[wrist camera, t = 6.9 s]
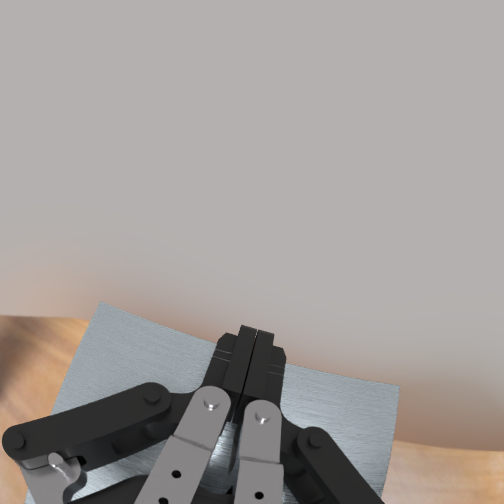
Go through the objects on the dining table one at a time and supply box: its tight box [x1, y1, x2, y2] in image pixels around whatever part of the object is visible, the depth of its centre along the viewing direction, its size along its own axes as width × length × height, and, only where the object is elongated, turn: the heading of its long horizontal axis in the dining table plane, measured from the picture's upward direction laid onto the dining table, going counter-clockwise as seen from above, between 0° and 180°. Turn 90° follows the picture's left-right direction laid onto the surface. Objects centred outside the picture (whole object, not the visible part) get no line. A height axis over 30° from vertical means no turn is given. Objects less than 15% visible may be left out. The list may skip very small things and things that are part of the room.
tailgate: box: [25, 302, 400, 504], centre depth 10 cm, size 2×16×14 cm
